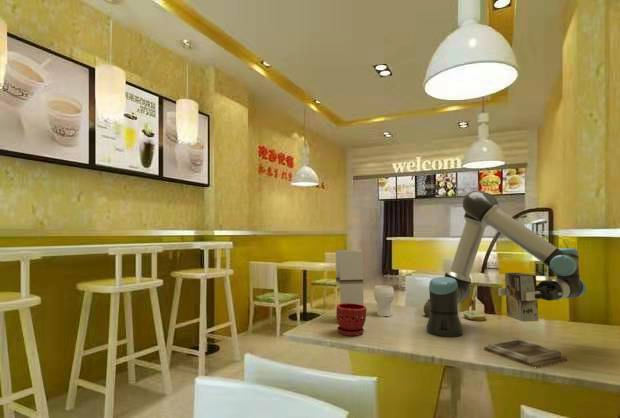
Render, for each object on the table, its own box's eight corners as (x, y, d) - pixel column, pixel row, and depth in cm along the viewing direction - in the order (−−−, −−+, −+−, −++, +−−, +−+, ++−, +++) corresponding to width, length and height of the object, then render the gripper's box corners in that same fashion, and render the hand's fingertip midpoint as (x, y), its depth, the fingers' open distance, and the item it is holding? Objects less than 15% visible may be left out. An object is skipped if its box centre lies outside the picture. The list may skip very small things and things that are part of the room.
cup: (390, 318, 182) (389, 288, 183) (371, 315, 188) (370, 287, 189) (397, 314, 191) (396, 286, 192) (378, 312, 197) (378, 284, 198)
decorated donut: (469, 322, 175) (469, 314, 175) (460, 316, 186) (459, 309, 186) (490, 321, 175) (490, 313, 176) (479, 316, 186) (479, 309, 186)
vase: (438, 318, 182) (438, 301, 182) (424, 317, 183) (424, 300, 184) (436, 315, 188) (436, 298, 189) (423, 314, 190) (422, 298, 190)
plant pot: (345, 339, 148) (345, 309, 149) (331, 330, 160) (331, 304, 161) (372, 335, 153) (371, 307, 153) (357, 327, 165) (356, 301, 166)
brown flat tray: (484, 349, 133) (483, 342, 133) (513, 344, 140) (512, 337, 140) (536, 368, 115) (535, 360, 115) (567, 360, 121) (566, 353, 122)
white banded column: (357, 317, 184) (356, 250, 186) (363, 323, 173) (362, 251, 176) (336, 318, 182) (335, 250, 184) (340, 324, 172) (340, 251, 174)
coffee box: (539, 321, 124) (537, 275, 125) (522, 322, 123) (520, 275, 124) (521, 315, 133) (519, 272, 134) (505, 315, 132) (503, 272, 133)
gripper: (586, 305, 125) (545, 311, 116) (525, 295, 146) (486, 299, 137) (584, 283, 126) (543, 288, 117) (524, 276, 147) (485, 280, 138)
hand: (512, 294), depth 127 cm, fingers closed on coffee box, 10 cm apart
